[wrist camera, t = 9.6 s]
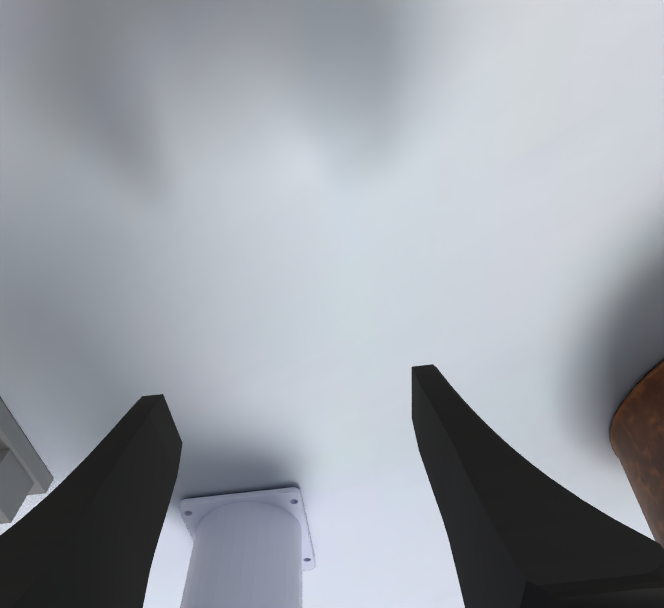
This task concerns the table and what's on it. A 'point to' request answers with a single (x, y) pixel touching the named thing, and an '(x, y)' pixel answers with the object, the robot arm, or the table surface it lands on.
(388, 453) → the table surface
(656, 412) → the case
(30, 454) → the plate with corner studs
